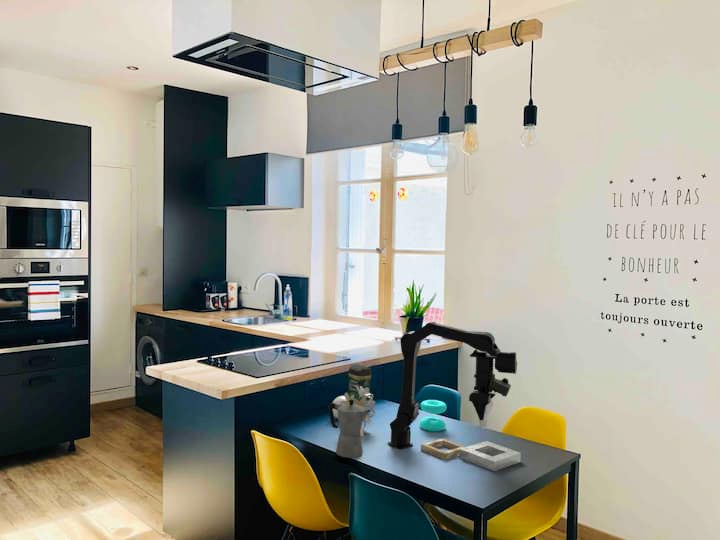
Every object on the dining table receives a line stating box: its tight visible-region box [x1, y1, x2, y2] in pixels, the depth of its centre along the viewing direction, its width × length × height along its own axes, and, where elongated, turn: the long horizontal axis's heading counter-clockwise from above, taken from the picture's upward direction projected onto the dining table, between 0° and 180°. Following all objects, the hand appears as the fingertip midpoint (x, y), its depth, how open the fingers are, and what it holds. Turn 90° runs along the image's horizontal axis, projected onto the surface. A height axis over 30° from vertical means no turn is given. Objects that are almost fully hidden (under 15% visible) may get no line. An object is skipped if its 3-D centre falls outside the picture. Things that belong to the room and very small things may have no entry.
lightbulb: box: [473, 398, 494, 430], centre depth 195 cm, size 6×6×11 cm
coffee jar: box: [347, 364, 372, 405], centre depth 248 cm, size 10×8×19 cm
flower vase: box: [332, 385, 376, 437], centre depth 225 cm, size 13×18×25 cm
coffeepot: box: [327, 399, 370, 459], centre depth 196 cm, size 15×9×18 cm, turn 62°
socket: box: [459, 440, 522, 472], centre depth 194 cm, size 14×14×3 cm
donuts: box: [419, 399, 447, 432], centre depth 226 cm, size 10×10×10 cm
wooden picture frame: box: [420, 438, 466, 461], centre depth 201 cm, size 11×11×2 cm
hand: (483, 417), depth 195 cm, fingers closed on lightbulb, 6 cm apart
